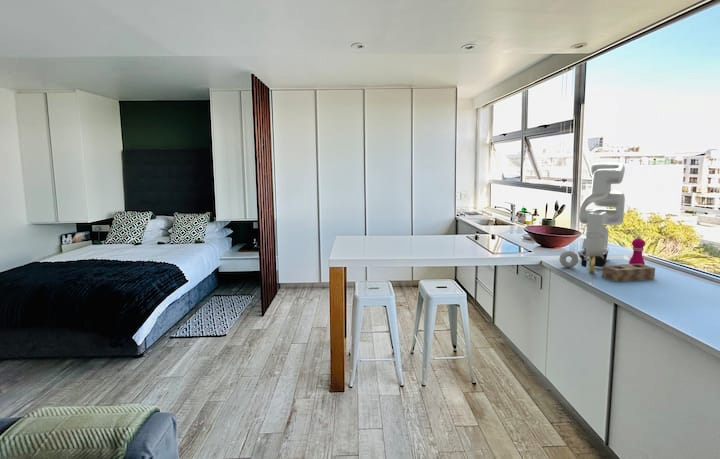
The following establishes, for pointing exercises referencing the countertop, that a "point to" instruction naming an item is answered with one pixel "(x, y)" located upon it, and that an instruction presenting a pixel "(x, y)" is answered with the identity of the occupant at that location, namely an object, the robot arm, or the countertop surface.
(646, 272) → the hole block
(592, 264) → the brass peg
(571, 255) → the donut
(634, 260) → the pepper mill
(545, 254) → the countertop surface
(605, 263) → the dixie cup
